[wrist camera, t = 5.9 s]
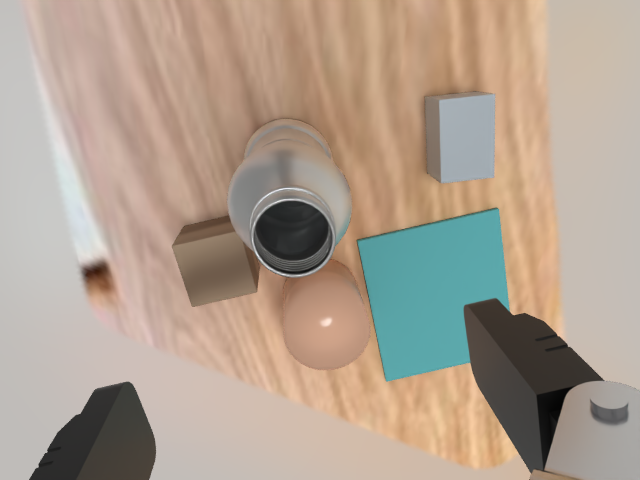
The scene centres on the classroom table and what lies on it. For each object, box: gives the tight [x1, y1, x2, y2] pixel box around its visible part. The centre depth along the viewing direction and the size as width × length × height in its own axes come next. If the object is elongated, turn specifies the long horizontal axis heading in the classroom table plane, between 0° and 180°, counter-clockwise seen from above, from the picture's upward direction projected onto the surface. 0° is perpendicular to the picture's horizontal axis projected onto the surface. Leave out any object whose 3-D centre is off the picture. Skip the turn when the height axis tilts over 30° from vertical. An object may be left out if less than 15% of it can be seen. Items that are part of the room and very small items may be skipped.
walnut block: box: [172, 216, 260, 307], centre depth 40 cm, size 5×5×5 cm
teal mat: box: [357, 208, 510, 382], centre depth 45 cm, size 14×12×1 cm
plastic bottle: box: [227, 119, 352, 278], centre depth 31 cm, size 6×7×20 cm
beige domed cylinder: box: [283, 259, 370, 370], centre depth 41 cm, size 6×6×7 cm
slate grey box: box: [425, 91, 495, 183], centre depth 39 cm, size 6×4×4 cm, turn 6°
